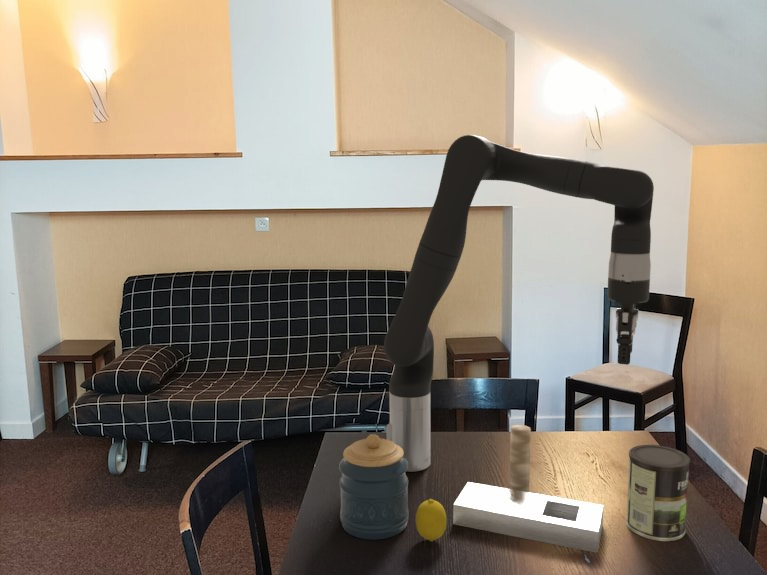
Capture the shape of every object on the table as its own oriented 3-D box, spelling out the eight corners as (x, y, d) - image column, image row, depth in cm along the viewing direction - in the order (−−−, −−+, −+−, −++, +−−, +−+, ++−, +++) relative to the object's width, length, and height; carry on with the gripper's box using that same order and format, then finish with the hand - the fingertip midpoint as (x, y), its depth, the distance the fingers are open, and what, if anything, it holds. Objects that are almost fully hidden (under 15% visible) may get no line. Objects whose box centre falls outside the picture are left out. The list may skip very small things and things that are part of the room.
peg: (507, 495, 134) (508, 430, 132) (511, 487, 138) (513, 423, 135) (527, 498, 132) (528, 433, 130) (530, 490, 136) (532, 426, 134)
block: (453, 524, 123) (453, 504, 122) (467, 500, 132) (467, 481, 132) (597, 553, 113) (598, 531, 112) (602, 525, 122) (603, 505, 121)
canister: (396, 546, 116) (395, 452, 113) (329, 535, 120) (326, 444, 117) (416, 511, 128) (416, 426, 125) (355, 502, 132) (353, 419, 129)
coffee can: (689, 521, 123) (693, 450, 121) (681, 547, 114) (686, 472, 112) (631, 508, 128) (635, 439, 126) (619, 532, 120) (623, 459, 117)
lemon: (449, 535, 119) (449, 494, 118) (442, 551, 114) (442, 509, 113) (420, 530, 121) (420, 490, 120) (411, 546, 116) (411, 504, 115)
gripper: (611, 270, 133) (607, 347, 135) (605, 280, 120) (601, 365, 123) (650, 271, 130) (646, 351, 133) (649, 282, 117) (644, 369, 120)
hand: (624, 358), depth 128 cm, fingers open, 8 cm apart
